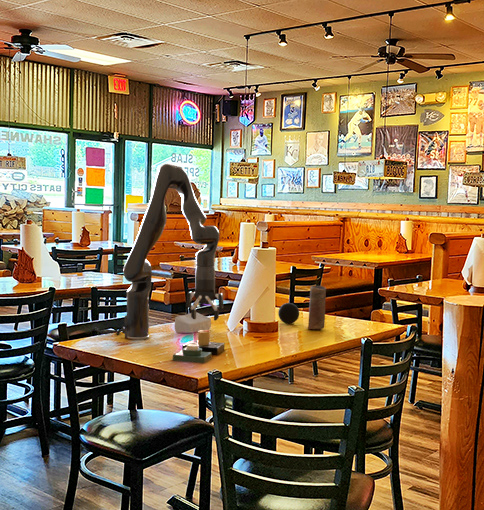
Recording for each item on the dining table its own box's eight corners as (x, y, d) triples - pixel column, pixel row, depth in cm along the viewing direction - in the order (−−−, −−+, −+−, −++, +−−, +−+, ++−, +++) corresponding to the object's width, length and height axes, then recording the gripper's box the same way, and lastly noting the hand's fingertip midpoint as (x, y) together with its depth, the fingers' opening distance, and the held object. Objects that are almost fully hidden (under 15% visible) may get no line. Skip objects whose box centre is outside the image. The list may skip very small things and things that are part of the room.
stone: (212, 330, 317) (212, 312, 313) (185, 346, 306) (185, 327, 301) (195, 321, 324) (195, 303, 319) (168, 337, 312) (168, 318, 307)
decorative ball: (303, 323, 335) (303, 303, 335) (289, 326, 329) (289, 305, 328) (287, 321, 343) (288, 300, 342) (273, 323, 336) (274, 302, 335)
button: (185, 350, 254) (185, 345, 254) (189, 348, 258) (189, 343, 258) (196, 351, 253) (196, 346, 253) (199, 349, 257) (199, 344, 257)
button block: (172, 360, 253) (172, 350, 253) (180, 355, 262) (180, 345, 262) (204, 363, 250) (204, 352, 250) (211, 358, 259) (211, 347, 259)
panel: (182, 353, 267) (182, 344, 266) (190, 347, 276) (190, 340, 276) (217, 355, 263) (217, 347, 263) (224, 350, 273) (224, 342, 272)
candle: (323, 328, 325) (325, 285, 323) (325, 331, 317) (327, 287, 316) (307, 327, 325) (308, 285, 323) (308, 330, 318) (310, 287, 316)
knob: (196, 344, 268) (196, 331, 267) (199, 342, 272) (200, 329, 272) (207, 345, 267) (207, 331, 266) (210, 343, 271) (211, 329, 270)
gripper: (225, 277, 269) (225, 319, 271) (190, 276, 273) (190, 317, 274) (220, 279, 262) (220, 322, 263) (184, 278, 266) (184, 320, 267)
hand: (204, 319), depth 269 cm, fingers open, 8 cm apart
